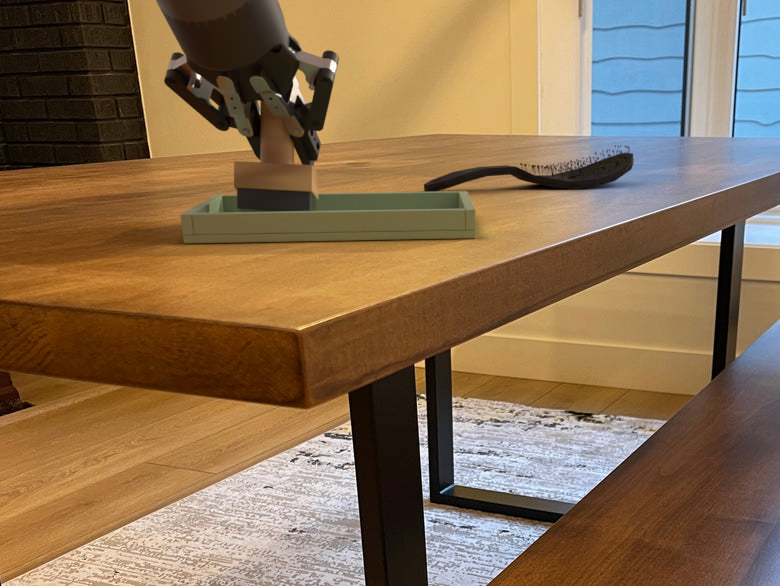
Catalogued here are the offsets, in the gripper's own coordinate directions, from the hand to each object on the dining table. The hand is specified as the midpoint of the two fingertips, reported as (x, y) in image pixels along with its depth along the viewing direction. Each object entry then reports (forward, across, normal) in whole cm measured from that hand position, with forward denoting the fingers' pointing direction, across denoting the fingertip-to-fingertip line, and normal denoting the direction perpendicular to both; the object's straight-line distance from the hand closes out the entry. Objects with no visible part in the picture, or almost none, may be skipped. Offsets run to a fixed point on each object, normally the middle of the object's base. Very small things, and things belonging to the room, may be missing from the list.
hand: (291, 158), depth 82 cm
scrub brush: (0, 0, +6) cm, 6 cm away
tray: (+2, -5, +6) cm, 7 cm away
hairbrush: (+26, -15, -19) cm, 36 cm away
